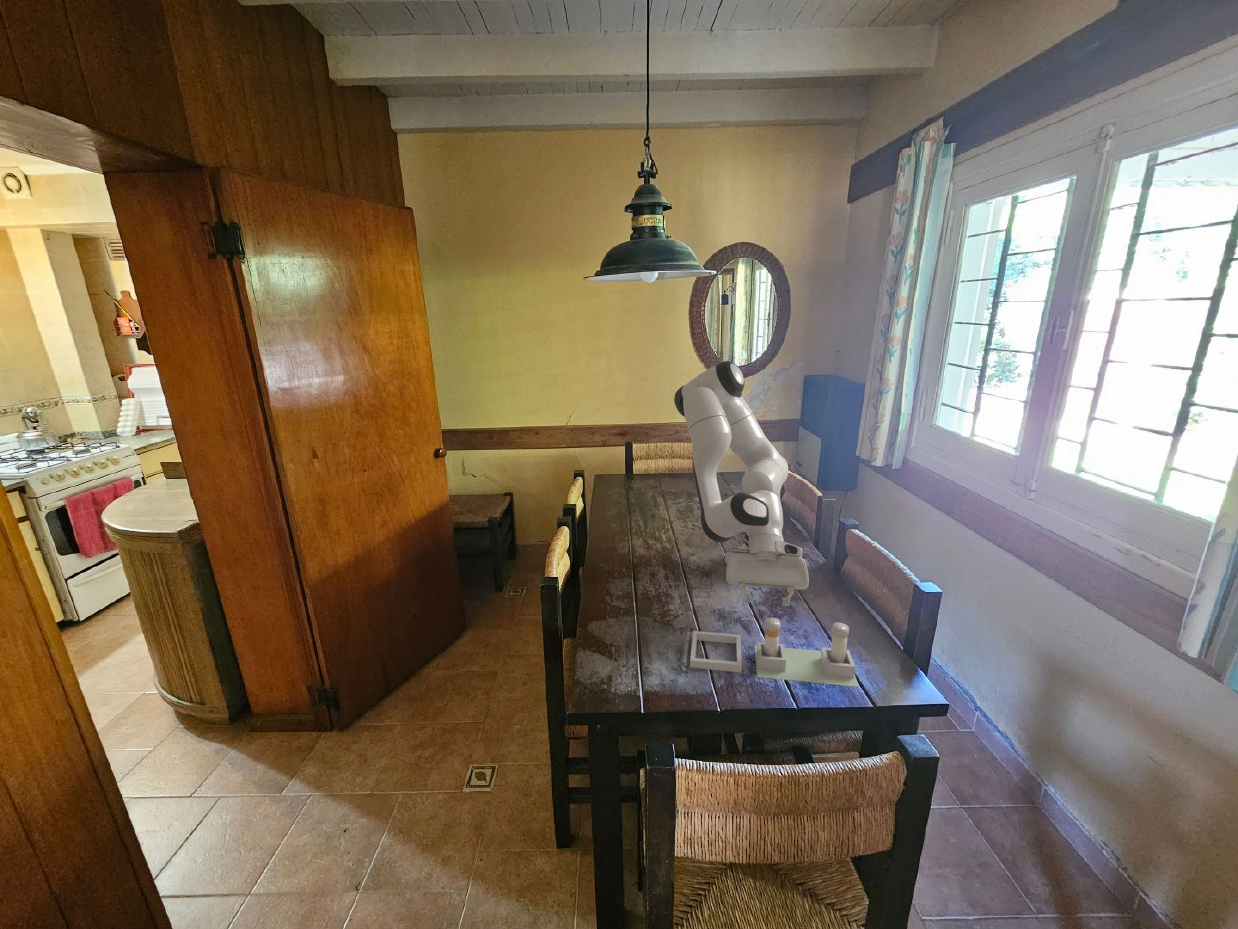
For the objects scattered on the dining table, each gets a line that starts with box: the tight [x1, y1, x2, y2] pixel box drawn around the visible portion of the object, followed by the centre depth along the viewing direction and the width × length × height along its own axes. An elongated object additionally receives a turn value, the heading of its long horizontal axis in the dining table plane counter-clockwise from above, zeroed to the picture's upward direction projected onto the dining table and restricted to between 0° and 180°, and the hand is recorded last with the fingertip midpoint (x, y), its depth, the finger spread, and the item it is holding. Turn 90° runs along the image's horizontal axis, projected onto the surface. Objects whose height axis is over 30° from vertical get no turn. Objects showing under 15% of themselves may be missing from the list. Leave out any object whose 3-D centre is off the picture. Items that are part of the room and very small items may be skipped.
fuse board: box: [753, 641, 860, 688], centre depth 120 cm, size 12×22×4 cm, turn 78°
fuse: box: [829, 622, 850, 664], centre depth 117 cm, size 4×4×11 cm
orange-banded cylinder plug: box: [763, 617, 782, 658], centre depth 121 cm, size 4×4×11 cm
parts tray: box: [689, 630, 743, 673], centre depth 125 cm, size 12×12×3 cm
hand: (766, 603), depth 125 cm, fingers open, 8 cm apart
